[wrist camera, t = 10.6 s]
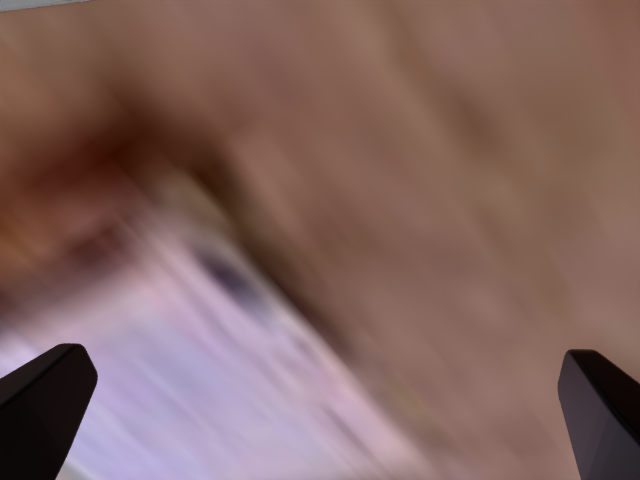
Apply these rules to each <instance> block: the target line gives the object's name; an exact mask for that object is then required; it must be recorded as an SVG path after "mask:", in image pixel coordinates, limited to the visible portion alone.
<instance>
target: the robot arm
mask: <svg viewBox="0 0 640 480" xmlns="http://www.w3.org/2000/svg"><path fill="white" fill-rule="evenodd" d="M97 380H98V375H97V371H96V369H95V367H94V365H93V363H92V361H91V359H90V357H89V355H88V353H87V351H86V349H85V348H84V346H82V345H81V344H70V343H64V344H59V345H57V346H55V347H53V348H52V349H50V350H48V351H46V352H45V353H43V354H41V355H40V356H38V357H36V358H35V359H33V360H31V361H30V362H28V363H26V364H24V365H23V366H21V367H19V368H18V369H16V370H14V371H13V372H11V373H9V374H8V375H6V376H4V377H2V378H1V379H0V480H55V479H56V477H57V475H58V473H59V471H60V469H61V467H62V465H63V463H64V461H65V459H66V457H67V455H68V453H69V450H70V448H71V446H72V443H73V441H74V438H75V436H76V433H77V431H78V429H79V426H80V424H81V421H82V419H83V416H84V414H85V412H86V409H87V407H88V404H89V402H90V399H91V397H92V394H93V392H94V390H95V387H96V384H97ZM558 395H559V400H560V403H561V407H562V411H563V414H564V418H565V422H566V426H567V429H568V433H569V437H570V441H571V444H572V448H573V452H574V455H575V459H576V463H577V467H578V470H579V474H580V477H581V480H640V383H638V382H637V381H636V380H634V379H633V378H632V377H631V376H629V375H628V374H627V373H625V372H624V371H623V370H621V369H620V368H619V367H617V366H616V365H615V364H613V363H612V362H611V361H609V360H608V359H607V358H606V357H604V356H603V355H602V354H600V353H599V352H597V351H595V350H591V349H571V350H568V351H567V352H566V354H565V356H564V360H563V364H562V368H561V372H560V376H559V380H558Z"/></svg>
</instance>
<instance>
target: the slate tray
mask: <svg viewBox="0 0 640 480" xmlns="http://www.w3.org/2000/svg"><path fill="white" fill-rule="evenodd" d="M85 1H93V0H0V12H6V11H14V10H22V9H30V8H38V7H46V6H54V5H61V4H69V3H77V2H85Z"/></svg>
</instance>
